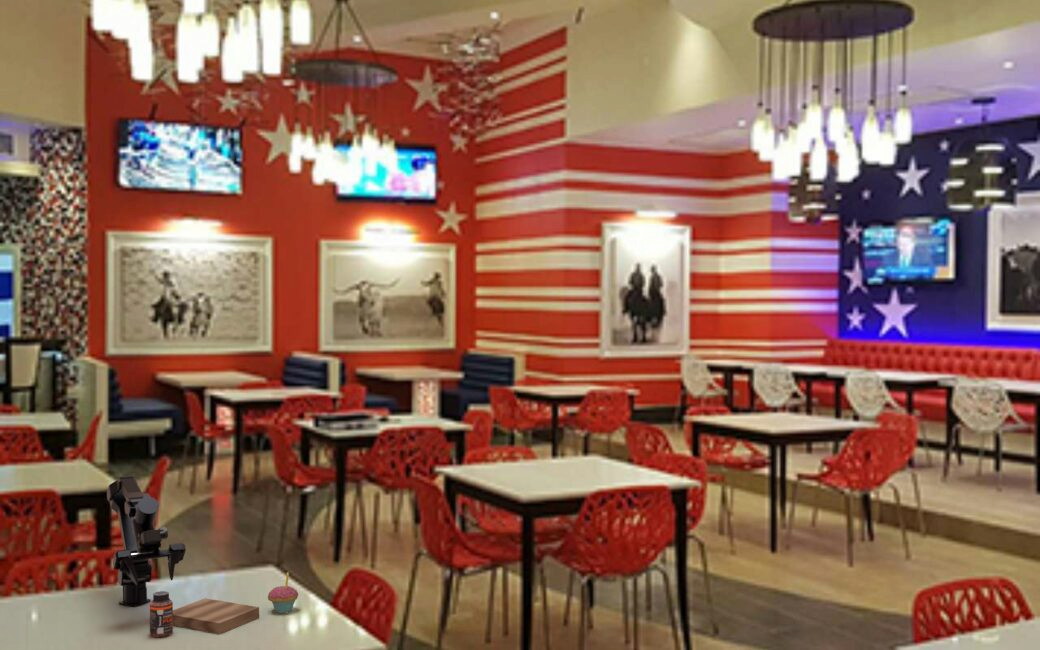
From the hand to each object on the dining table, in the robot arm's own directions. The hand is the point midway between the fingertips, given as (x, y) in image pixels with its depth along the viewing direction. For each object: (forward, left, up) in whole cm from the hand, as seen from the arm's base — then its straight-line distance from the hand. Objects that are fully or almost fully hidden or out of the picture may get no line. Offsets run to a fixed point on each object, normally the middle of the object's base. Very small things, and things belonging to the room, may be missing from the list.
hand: (154, 581), depth 294 cm
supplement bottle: (+6, -4, -13) cm, 15 cm away
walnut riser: (+10, +11, -13) cm, 20 cm away
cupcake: (+22, +27, -13) cm, 37 cm away
